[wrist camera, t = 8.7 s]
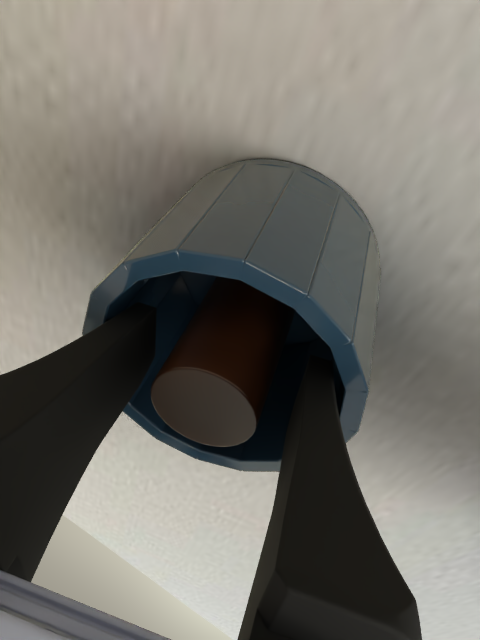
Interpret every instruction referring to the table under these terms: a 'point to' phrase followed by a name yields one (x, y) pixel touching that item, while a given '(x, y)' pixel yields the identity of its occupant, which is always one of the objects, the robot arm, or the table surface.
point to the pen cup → (264, 275)
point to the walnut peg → (223, 365)
